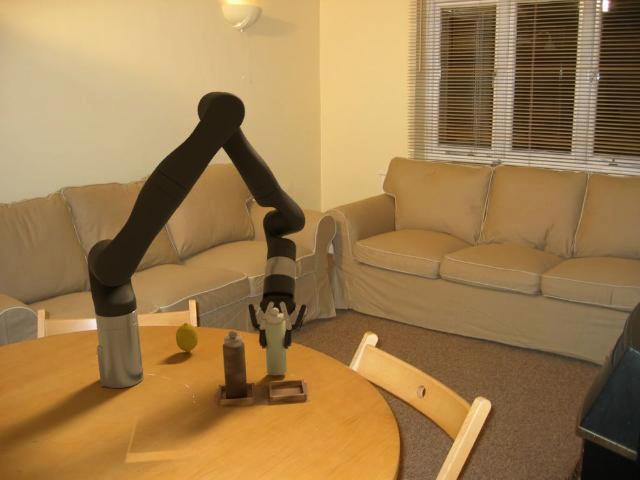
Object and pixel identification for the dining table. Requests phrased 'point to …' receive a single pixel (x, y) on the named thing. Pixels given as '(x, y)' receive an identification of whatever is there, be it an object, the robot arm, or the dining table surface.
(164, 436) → the dining table surface
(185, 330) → the lemon
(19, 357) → the dining table surface
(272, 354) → the salt mill
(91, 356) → the dining table surface
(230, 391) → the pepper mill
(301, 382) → the cruet stand
